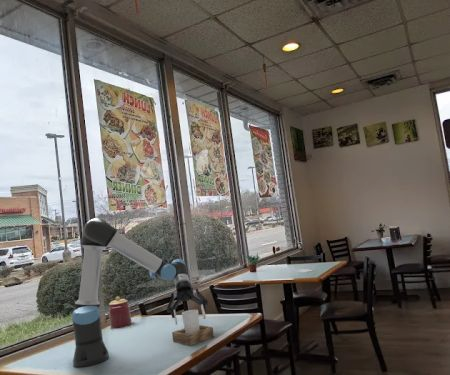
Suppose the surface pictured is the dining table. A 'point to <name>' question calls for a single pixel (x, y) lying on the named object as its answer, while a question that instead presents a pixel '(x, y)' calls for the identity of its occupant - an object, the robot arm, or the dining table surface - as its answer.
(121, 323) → the canister
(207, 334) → the brown wooden tray
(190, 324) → the white cup
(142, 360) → the dining table surface
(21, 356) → the dining table surface
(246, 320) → the dining table surface
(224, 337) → the dining table surface
